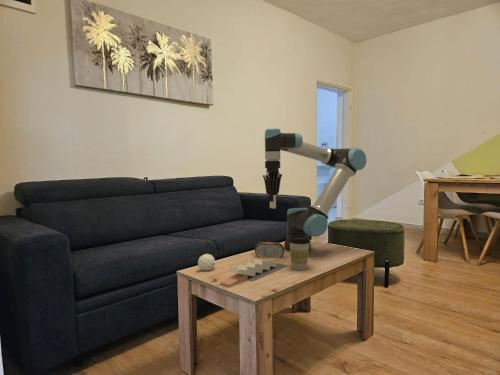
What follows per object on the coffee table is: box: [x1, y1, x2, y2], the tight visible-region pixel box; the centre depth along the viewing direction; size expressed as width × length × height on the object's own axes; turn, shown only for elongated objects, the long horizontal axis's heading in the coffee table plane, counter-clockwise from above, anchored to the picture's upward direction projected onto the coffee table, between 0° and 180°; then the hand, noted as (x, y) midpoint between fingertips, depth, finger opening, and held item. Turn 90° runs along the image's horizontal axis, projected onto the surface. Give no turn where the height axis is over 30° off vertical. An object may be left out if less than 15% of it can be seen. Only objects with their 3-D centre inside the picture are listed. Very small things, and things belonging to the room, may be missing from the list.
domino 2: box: [229, 266, 256, 276], centre depth 141 cm, size 2×5×11 cm
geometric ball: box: [197, 253, 216, 272], centre depth 153 cm, size 8×8×8 cm
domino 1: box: [220, 273, 249, 288], centre depth 137 cm, size 2×5×11 cm
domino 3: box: [237, 263, 263, 273], centre depth 144 cm, size 2×5×11 cm
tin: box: [254, 241, 285, 259], centre depth 171 cm, size 15×3×8 cm, turn 84°
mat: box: [247, 261, 288, 282], centre depth 150 cm, size 26×11×1 cm, turn 140°
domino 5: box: [253, 258, 278, 267], centre depth 152 cm, size 2×5×11 cm
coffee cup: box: [289, 235, 311, 271], centre depth 153 cm, size 10×10×15 cm
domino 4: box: [245, 260, 270, 270], centre depth 148 cm, size 2×5×11 cm
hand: (272, 207), depth 166 cm, fingers closed
